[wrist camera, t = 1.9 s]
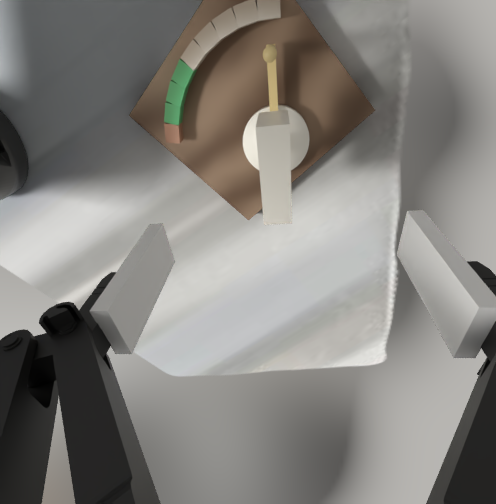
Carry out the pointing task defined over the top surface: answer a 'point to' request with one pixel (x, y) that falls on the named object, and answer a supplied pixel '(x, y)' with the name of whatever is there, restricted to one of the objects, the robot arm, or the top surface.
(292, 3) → the wooden base board
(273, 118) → the peg
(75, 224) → the top surface
